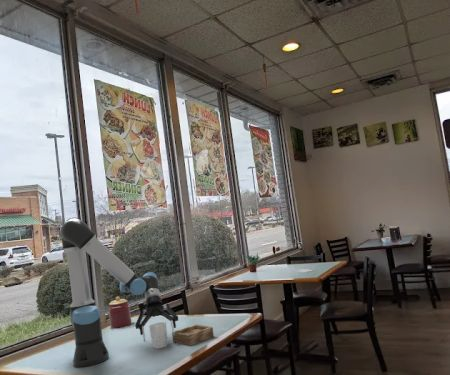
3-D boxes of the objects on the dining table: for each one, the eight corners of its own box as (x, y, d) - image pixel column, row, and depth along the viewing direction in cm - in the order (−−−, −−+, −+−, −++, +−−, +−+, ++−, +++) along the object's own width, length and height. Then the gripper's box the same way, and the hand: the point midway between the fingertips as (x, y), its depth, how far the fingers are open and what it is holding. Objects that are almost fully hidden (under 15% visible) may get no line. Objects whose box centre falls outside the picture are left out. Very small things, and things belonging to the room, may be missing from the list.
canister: (108, 326, 253) (105, 297, 255) (129, 321, 259) (126, 293, 260) (112, 329, 241) (108, 299, 243) (133, 324, 247) (130, 295, 249)
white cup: (170, 342, 192) (167, 321, 193) (166, 347, 185) (163, 325, 186) (154, 344, 193) (151, 323, 194) (149, 350, 185) (147, 327, 186)
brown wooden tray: (189, 345, 182) (187, 335, 183) (173, 341, 193) (172, 332, 194) (213, 336, 191) (212, 327, 192) (197, 333, 202) (196, 324, 202)
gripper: (127, 299, 198) (131, 338, 182) (177, 290, 204) (186, 326, 188) (128, 308, 202) (132, 347, 187) (178, 299, 208) (186, 335, 192)
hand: (159, 337), depth 187 cm, fingers open, 13 cm apart
